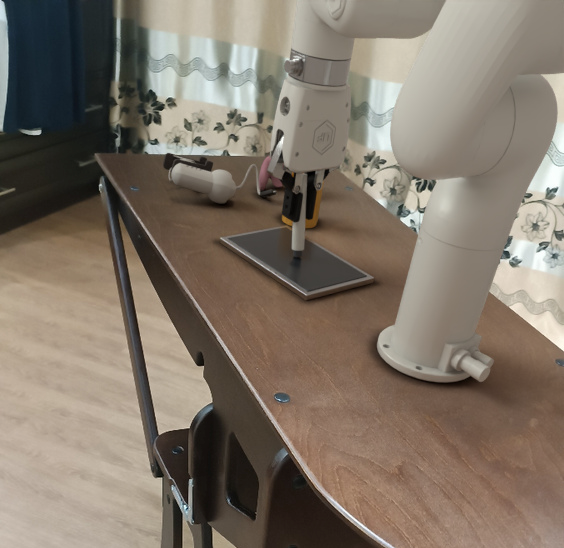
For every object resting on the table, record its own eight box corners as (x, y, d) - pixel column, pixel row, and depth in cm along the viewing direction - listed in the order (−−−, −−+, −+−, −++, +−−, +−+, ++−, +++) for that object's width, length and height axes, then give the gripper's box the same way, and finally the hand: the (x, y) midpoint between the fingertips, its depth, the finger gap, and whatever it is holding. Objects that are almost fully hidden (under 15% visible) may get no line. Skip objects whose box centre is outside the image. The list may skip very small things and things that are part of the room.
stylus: (306, 256, 104) (310, 174, 97) (297, 258, 103) (300, 176, 96) (298, 253, 105) (301, 172, 98) (288, 255, 104) (291, 173, 97)
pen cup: (324, 225, 117) (331, 181, 112) (296, 230, 114) (303, 185, 109) (301, 212, 120) (307, 168, 115) (274, 217, 117) (279, 172, 112)
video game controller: (312, 202, 128) (318, 160, 126) (312, 198, 124) (319, 155, 122) (257, 193, 128) (263, 151, 126) (256, 188, 124) (262, 145, 122)
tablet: (373, 282, 103) (374, 276, 102) (305, 300, 96) (306, 294, 95) (286, 230, 113) (286, 224, 113) (219, 242, 106) (219, 236, 106)
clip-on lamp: (257, 202, 129) (159, 174, 121) (267, 166, 125) (168, 134, 118) (273, 222, 120) (169, 192, 113) (285, 183, 116) (178, 150, 109)
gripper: (289, 80, 82) (270, 236, 95) (383, 76, 91) (354, 220, 103) (250, 63, 86) (236, 215, 99) (344, 60, 95) (320, 201, 107)
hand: (297, 216), depth 101 cm, fingers closed on stylus, 1 cm apart
